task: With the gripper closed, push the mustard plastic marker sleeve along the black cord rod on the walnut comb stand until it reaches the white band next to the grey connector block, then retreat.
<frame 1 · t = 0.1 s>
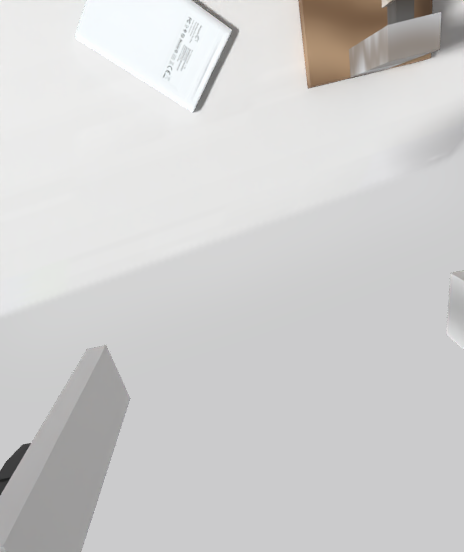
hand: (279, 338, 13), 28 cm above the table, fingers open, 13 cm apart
external hard drive: (156, 38, 32), on the table
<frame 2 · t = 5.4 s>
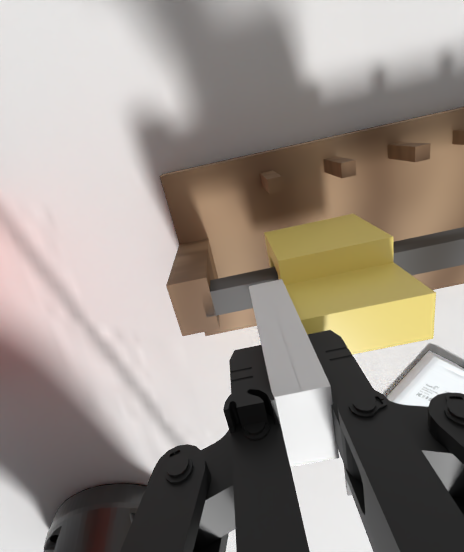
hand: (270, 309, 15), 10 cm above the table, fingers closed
comb stand: (357, 222, 23), on the table
sleeve: (333, 286, 16), point 8 cm above the table, slide at 0.4 cm, touching gripper
external hard drive: (412, 407, 32), on the table
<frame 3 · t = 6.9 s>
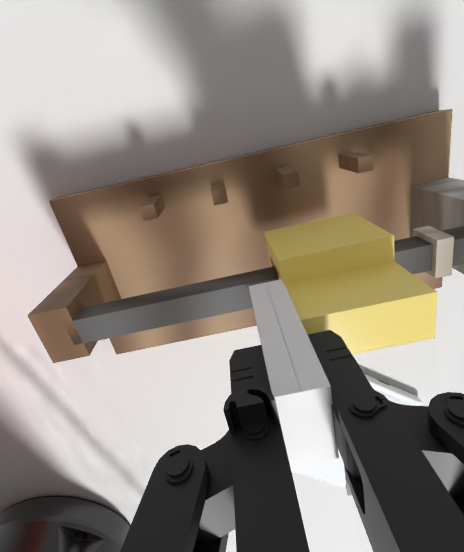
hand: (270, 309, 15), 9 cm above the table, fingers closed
comb stand: (260, 242, 23), on the table
sleeve: (334, 286, 15), point 9 cm above the table, slide at 7.5 cm, touching gripper
external hard drive: (340, 421, 32), on the table
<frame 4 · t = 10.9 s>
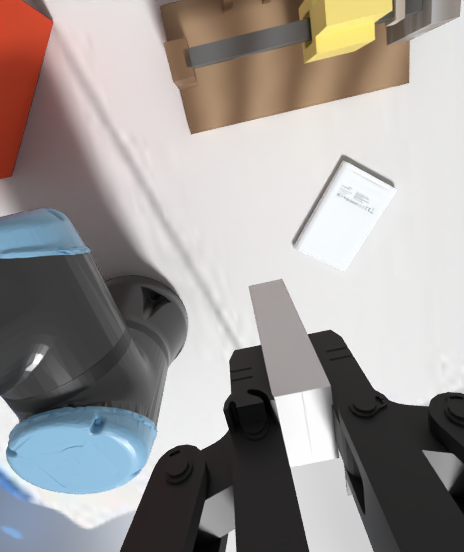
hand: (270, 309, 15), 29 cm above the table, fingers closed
comb stand: (288, 49, 35), on the table
sleeve: (341, 18, 28), point 8 cm above the table, slide at 7.7 cm
external hard drive: (340, 217, 44), on the table
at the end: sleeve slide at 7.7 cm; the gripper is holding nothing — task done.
